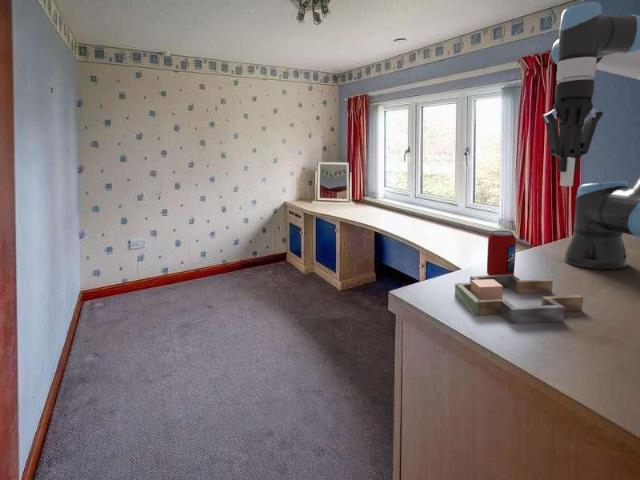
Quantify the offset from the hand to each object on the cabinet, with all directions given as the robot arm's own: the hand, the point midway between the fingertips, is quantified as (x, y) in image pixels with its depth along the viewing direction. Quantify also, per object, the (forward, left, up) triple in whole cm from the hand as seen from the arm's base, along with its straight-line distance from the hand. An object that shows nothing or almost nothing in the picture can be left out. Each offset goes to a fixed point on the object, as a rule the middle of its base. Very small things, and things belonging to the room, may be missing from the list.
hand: (566, 185), depth 100 cm
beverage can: (+11, -8, -25) cm, 28 cm away
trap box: (+16, +11, -24) cm, 31 cm away
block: (+23, +11, -25) cm, 35 cm away
